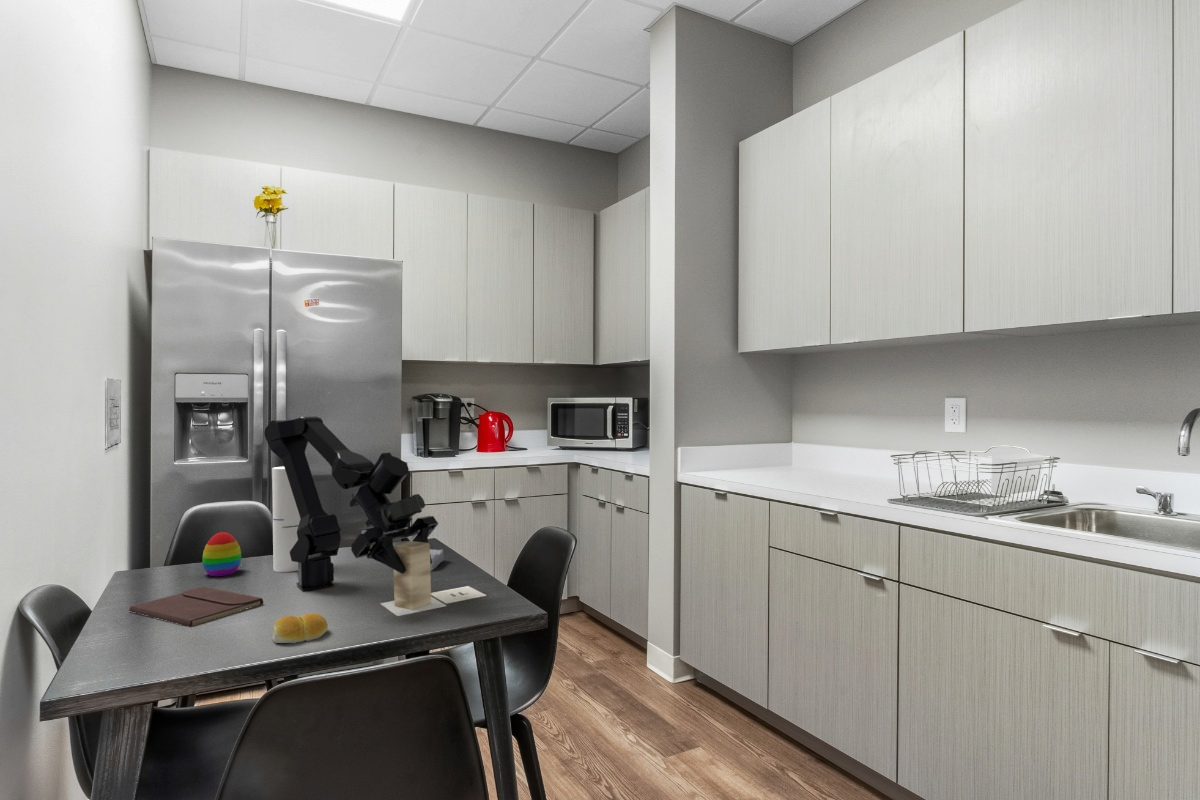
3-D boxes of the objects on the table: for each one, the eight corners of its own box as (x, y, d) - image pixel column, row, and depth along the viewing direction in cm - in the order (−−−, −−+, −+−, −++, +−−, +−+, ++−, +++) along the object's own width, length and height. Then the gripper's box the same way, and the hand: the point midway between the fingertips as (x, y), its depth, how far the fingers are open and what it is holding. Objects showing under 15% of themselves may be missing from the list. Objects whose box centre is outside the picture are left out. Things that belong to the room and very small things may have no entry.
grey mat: (397, 617, 127) (397, 616, 127) (380, 604, 135) (380, 603, 135) (446, 607, 133) (446, 605, 133) (427, 595, 141) (427, 594, 141)
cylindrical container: (284, 564, 170) (283, 465, 170) (311, 565, 169) (309, 466, 169) (267, 571, 163) (265, 468, 163) (294, 572, 162) (293, 469, 162)
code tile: (446, 605, 134) (446, 603, 134) (428, 594, 142) (428, 593, 142) (486, 596, 140) (486, 595, 140) (468, 587, 147) (468, 585, 147)
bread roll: (332, 638, 117) (331, 615, 117) (275, 649, 112) (275, 625, 112) (322, 625, 124) (322, 603, 124) (268, 635, 119) (268, 612, 119)
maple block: (394, 606, 133) (393, 545, 133) (413, 599, 137) (411, 541, 137) (412, 609, 131) (411, 548, 131) (431, 602, 135) (429, 543, 135)
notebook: (189, 629, 123) (189, 618, 123) (129, 614, 132) (129, 604, 132) (263, 606, 136) (263, 597, 136) (204, 594, 146) (204, 585, 146)
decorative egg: (220, 568, 166) (220, 528, 166) (249, 570, 165) (248, 529, 165) (194, 577, 158) (193, 535, 158) (224, 578, 157) (223, 536, 157)
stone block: (394, 581, 160) (434, 572, 160) (390, 561, 160) (430, 552, 160) (409, 570, 172) (447, 562, 172) (405, 551, 172) (443, 543, 172)
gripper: (360, 488, 128) (402, 552, 122) (431, 477, 144) (470, 534, 138) (333, 525, 132) (372, 589, 126) (405, 511, 148) (443, 567, 142)
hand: (417, 568), depth 133 cm, fingers open, 7 cm apart
